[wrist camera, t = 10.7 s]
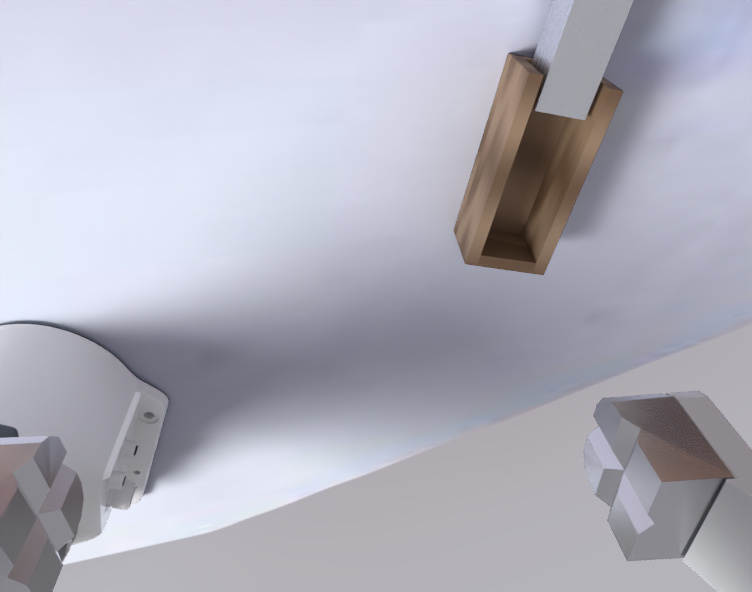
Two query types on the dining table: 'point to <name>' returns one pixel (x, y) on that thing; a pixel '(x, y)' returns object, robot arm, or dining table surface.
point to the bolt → (576, 53)
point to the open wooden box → (527, 173)
